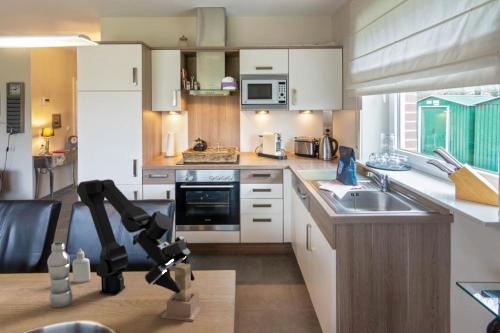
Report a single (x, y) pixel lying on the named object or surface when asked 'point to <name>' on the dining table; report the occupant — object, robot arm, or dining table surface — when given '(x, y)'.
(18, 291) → the dining table surface
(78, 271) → the eye dropper bottle
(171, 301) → the holder cup
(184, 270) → the wooden block
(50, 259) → the plastic bottle
